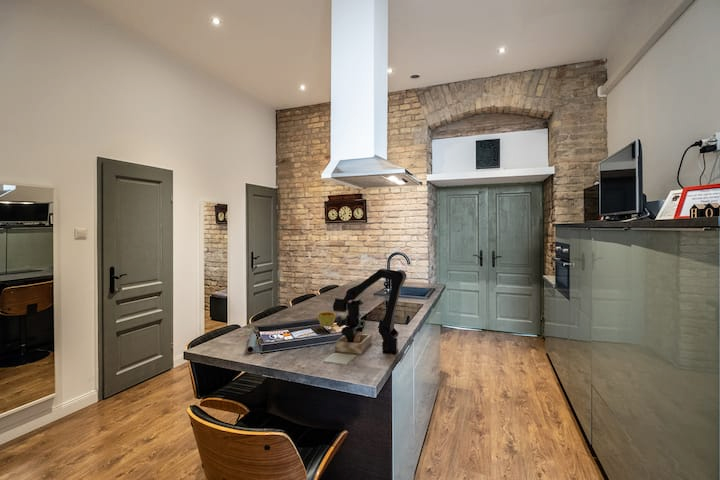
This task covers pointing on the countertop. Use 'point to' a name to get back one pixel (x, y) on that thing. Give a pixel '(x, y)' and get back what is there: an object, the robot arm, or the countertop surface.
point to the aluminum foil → (252, 344)
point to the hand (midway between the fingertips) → (353, 344)
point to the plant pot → (326, 318)
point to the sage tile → (340, 358)
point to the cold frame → (353, 344)
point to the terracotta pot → (357, 337)
